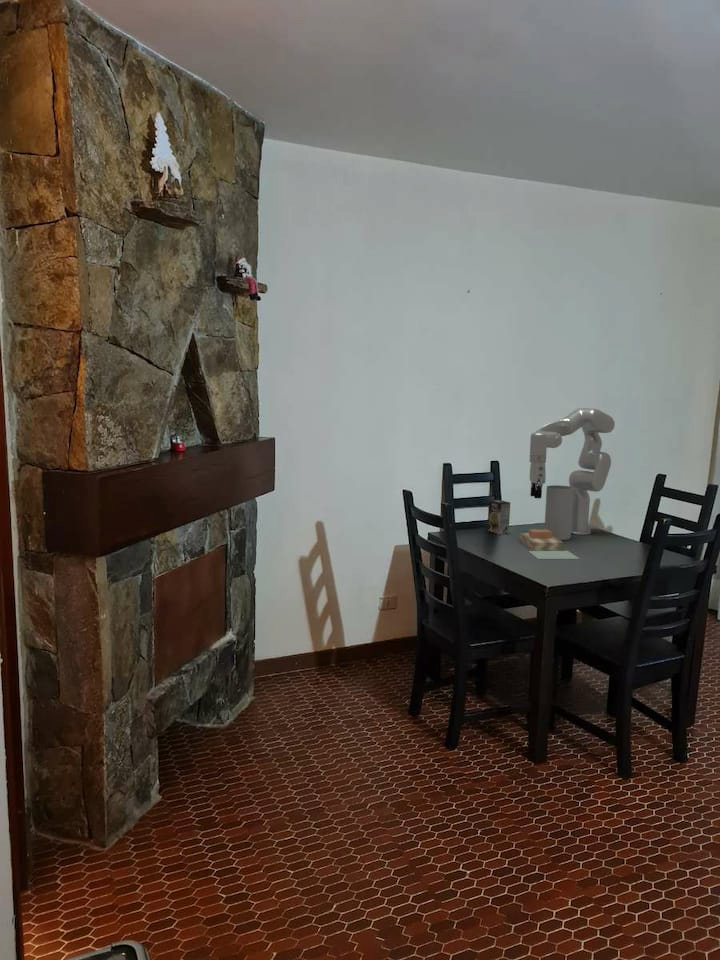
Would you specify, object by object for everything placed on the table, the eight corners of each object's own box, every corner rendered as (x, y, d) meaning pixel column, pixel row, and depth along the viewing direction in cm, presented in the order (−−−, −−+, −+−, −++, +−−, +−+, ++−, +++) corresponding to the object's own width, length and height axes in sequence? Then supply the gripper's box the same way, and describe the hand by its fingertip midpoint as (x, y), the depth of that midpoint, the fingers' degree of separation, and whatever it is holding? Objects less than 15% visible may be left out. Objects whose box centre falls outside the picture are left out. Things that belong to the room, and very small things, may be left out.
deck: (548, 541, 334) (548, 532, 333) (562, 551, 314) (563, 542, 313) (519, 541, 333) (519, 532, 332) (532, 551, 313) (532, 542, 312)
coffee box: (487, 531, 353) (488, 500, 351) (497, 530, 356) (498, 499, 354) (499, 535, 345) (500, 502, 343) (509, 533, 348) (510, 502, 346)
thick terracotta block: (547, 535, 327) (547, 529, 326) (551, 538, 321) (552, 532, 321) (528, 535, 326) (529, 529, 326) (532, 538, 320) (533, 532, 320)
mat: (567, 551, 313) (567, 550, 313) (579, 559, 300) (579, 558, 300) (528, 551, 312) (528, 550, 312) (538, 559, 298) (538, 558, 298)
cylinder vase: (576, 539, 337) (579, 488, 334) (554, 541, 333) (557, 489, 329) (559, 534, 349) (562, 484, 345) (538, 536, 344) (541, 485, 341)
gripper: (551, 461, 319) (549, 500, 322) (539, 457, 336) (537, 494, 339) (535, 461, 319) (533, 500, 321) (524, 457, 336) (522, 494, 338)
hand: (535, 496), depth 330 cm, fingers open, 5 cm apart
